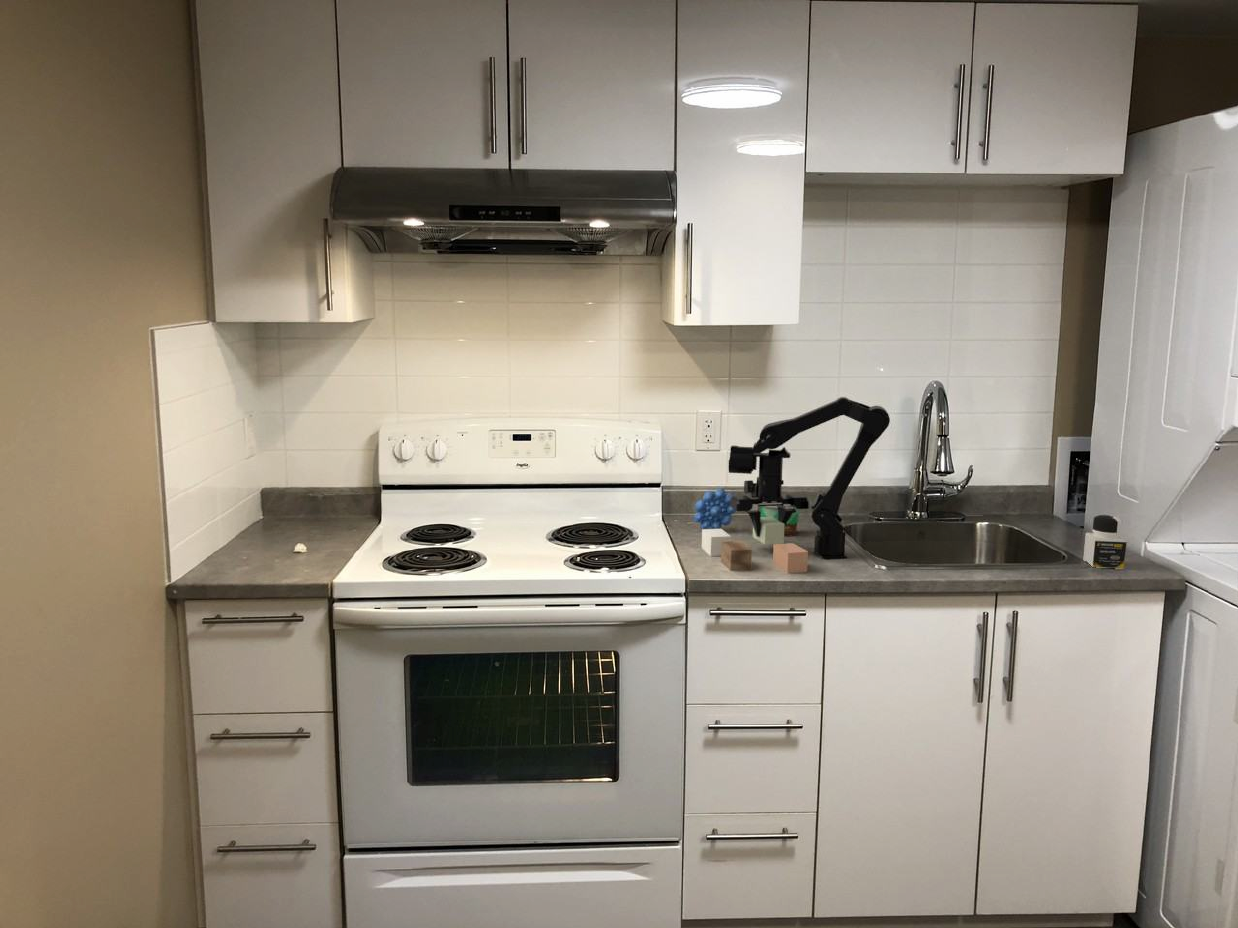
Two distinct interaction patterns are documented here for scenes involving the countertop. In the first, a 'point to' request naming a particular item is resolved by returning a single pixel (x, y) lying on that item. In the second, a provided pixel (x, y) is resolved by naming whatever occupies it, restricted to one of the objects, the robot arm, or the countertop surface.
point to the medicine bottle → (1105, 543)
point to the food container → (773, 512)
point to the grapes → (714, 510)
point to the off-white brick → (714, 540)
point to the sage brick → (770, 531)
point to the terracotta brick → (790, 558)
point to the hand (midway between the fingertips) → (768, 536)
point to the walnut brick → (736, 555)
